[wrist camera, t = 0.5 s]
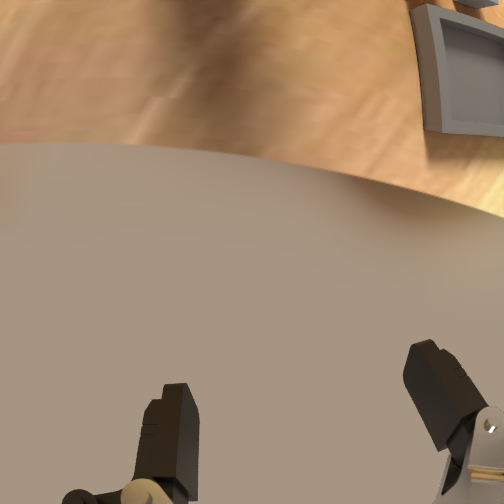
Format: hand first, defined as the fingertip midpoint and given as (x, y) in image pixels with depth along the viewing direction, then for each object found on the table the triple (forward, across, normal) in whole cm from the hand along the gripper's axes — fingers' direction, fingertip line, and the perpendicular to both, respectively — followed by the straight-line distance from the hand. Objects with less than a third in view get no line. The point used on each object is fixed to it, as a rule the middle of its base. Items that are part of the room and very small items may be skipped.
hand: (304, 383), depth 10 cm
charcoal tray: (+27, -32, -13) cm, 44 cm away
